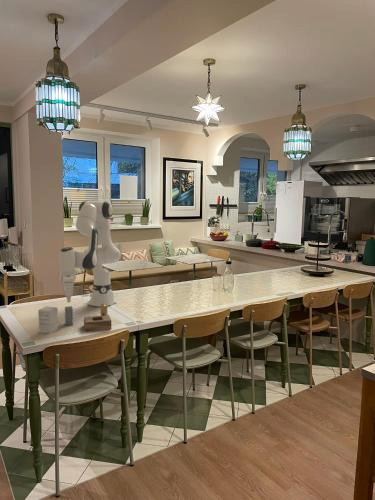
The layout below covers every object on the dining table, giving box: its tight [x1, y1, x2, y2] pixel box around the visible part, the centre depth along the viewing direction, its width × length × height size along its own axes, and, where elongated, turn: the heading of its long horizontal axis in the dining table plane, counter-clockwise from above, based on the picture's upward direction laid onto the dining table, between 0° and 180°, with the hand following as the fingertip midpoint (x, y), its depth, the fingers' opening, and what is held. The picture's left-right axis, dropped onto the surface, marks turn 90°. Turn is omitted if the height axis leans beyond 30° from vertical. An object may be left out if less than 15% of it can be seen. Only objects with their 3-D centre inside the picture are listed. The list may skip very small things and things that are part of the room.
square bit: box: [64, 306, 74, 327], centre depth 218 cm, size 4×4×10 cm
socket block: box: [83, 314, 112, 332], centre depth 214 cm, size 10×14×5 cm
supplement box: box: [37, 305, 59, 334], centre depth 207 cm, size 7×7×13 cm
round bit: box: [100, 304, 108, 316], centre depth 225 cm, size 4×4×10 cm
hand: (68, 300), depth 217 cm, fingers open, 8 cm apart
